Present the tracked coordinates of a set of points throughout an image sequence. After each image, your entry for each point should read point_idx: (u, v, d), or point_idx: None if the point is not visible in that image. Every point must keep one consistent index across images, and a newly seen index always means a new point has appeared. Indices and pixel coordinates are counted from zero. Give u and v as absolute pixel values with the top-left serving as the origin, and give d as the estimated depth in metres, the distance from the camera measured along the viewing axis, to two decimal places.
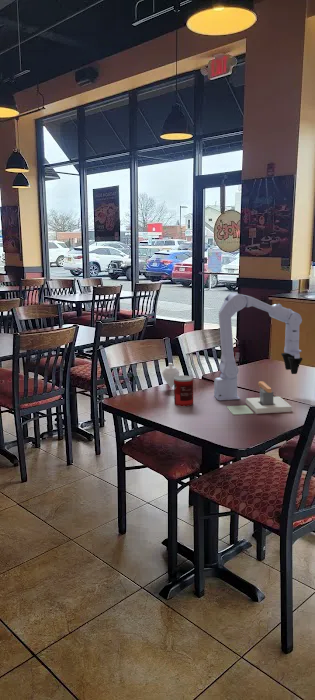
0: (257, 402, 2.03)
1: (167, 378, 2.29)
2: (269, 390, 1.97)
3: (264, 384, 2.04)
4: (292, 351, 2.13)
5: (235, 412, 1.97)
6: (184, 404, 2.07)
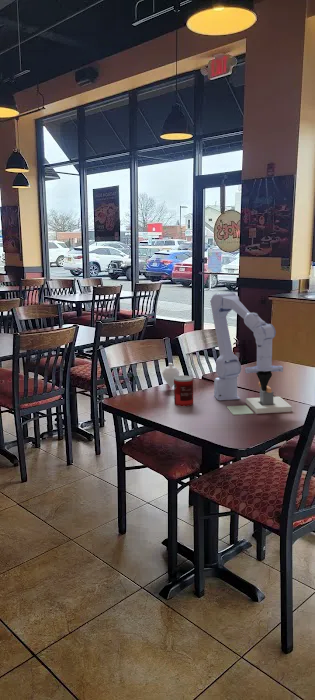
0: (257, 402, 2.03)
1: (167, 378, 2.29)
2: (269, 390, 1.97)
3: None
4: (256, 366, 1.98)
5: (235, 412, 1.97)
6: (184, 404, 2.07)
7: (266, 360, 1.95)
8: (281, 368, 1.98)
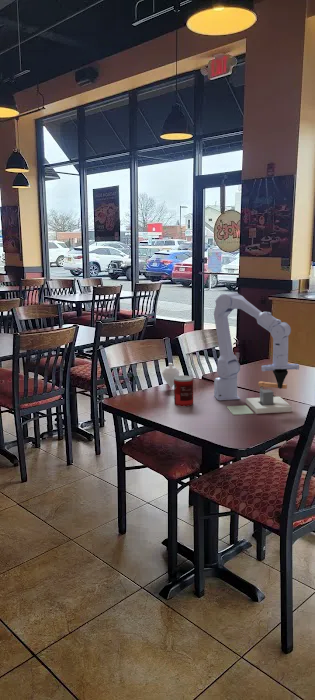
0: (257, 402, 2.03)
1: (167, 378, 2.29)
2: (286, 386, 2.02)
3: (270, 383, 2.05)
4: (272, 364, 2.01)
5: (235, 412, 1.97)
6: (184, 404, 2.07)
7: (282, 358, 1.97)
8: (297, 366, 2.00)
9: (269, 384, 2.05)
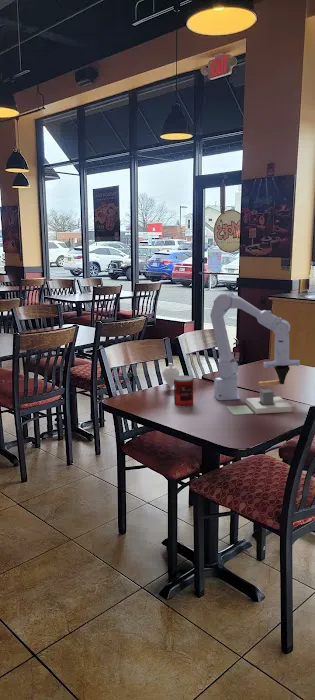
0: (257, 402, 2.03)
1: (167, 378, 2.29)
2: None
3: (269, 381, 2.08)
4: (274, 361, 2.06)
5: (235, 412, 1.97)
6: (184, 404, 2.07)
7: (284, 354, 2.03)
8: (298, 362, 2.06)
9: (270, 382, 2.07)
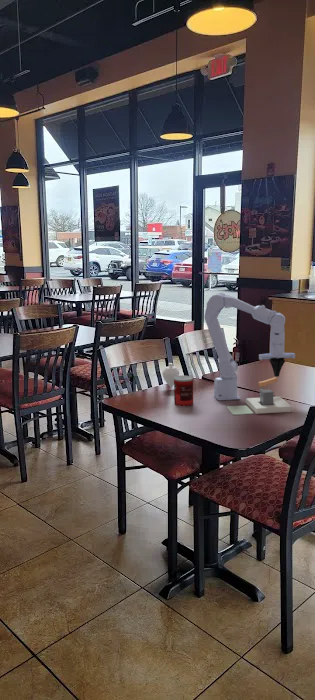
0: (257, 402, 2.03)
1: (167, 378, 2.29)
2: None
3: (266, 380, 2.09)
4: (269, 353, 2.08)
5: (235, 412, 1.97)
6: (184, 404, 2.07)
7: (279, 347, 2.05)
8: (293, 355, 2.08)
9: (268, 381, 2.09)
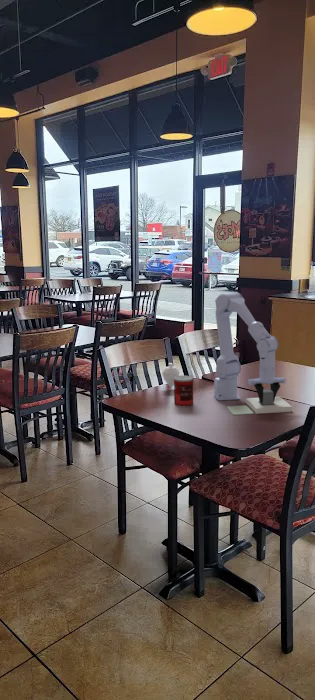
0: (257, 402, 2.03)
1: (167, 378, 2.29)
2: None
3: None
4: (259, 378, 2.00)
5: (235, 412, 1.97)
6: (184, 404, 2.07)
7: (269, 372, 1.97)
8: (284, 380, 2.00)
9: None
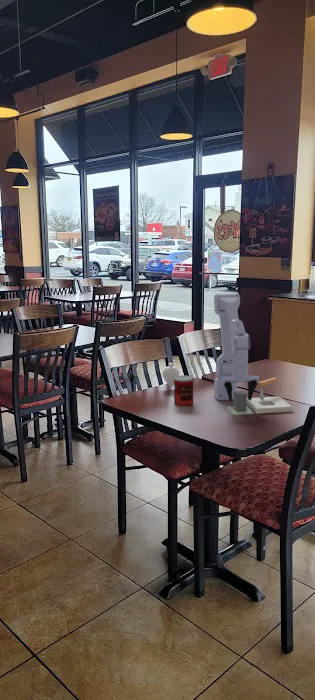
0: (257, 402, 2.03)
1: (167, 378, 2.29)
2: None
3: (266, 380, 2.09)
4: (232, 377, 1.98)
5: (235, 412, 1.97)
6: (184, 404, 2.07)
7: (242, 370, 1.94)
8: (257, 378, 1.97)
9: (268, 381, 2.09)
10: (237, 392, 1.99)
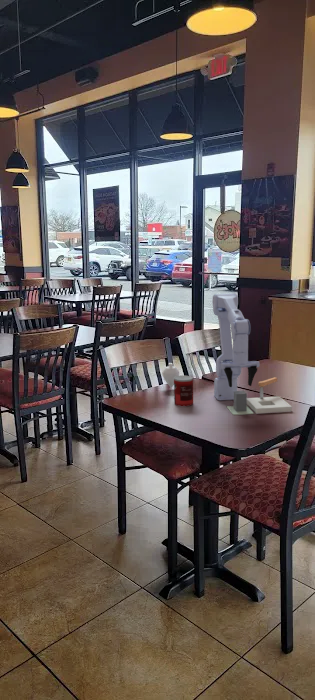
0: (257, 402, 2.03)
1: (167, 378, 2.29)
2: None
3: (266, 380, 2.09)
4: (232, 362, 1.97)
5: (235, 412, 1.97)
6: (184, 404, 2.07)
7: (242, 355, 1.93)
8: (257, 363, 1.96)
9: (268, 381, 2.09)
10: (237, 392, 1.99)
